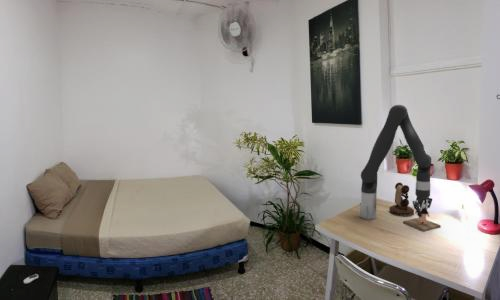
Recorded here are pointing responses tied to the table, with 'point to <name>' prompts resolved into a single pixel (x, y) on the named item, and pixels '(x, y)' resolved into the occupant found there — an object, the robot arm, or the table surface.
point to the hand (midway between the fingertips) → (421, 215)
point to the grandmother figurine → (423, 215)
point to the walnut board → (421, 225)
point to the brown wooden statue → (401, 201)
